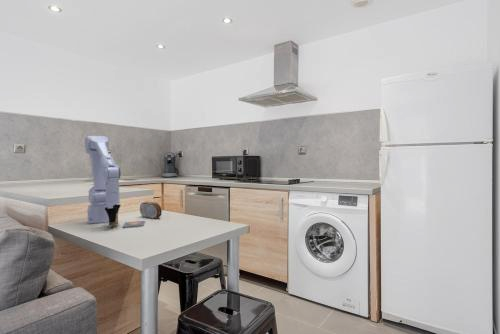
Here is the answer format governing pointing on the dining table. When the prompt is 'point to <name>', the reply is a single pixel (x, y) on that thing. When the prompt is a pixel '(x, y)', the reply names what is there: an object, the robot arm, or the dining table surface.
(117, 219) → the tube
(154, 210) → the tin
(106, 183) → the robot arm
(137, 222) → the card
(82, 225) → the dining table surface
